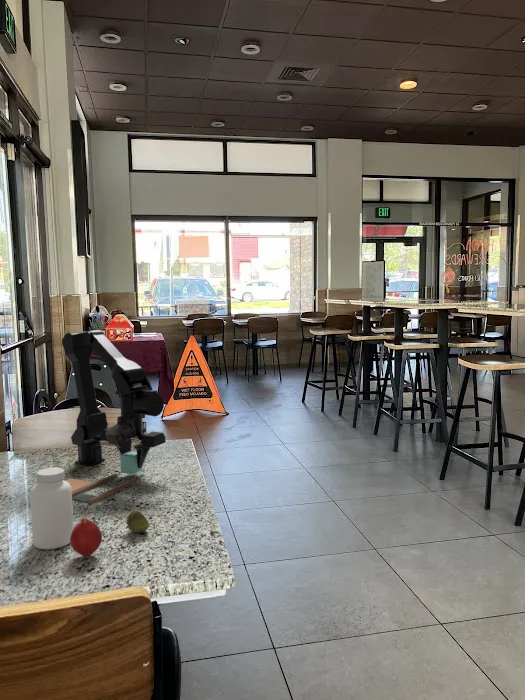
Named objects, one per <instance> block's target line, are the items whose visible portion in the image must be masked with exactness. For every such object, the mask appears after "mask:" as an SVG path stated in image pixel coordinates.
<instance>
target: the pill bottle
mask: <svg viewBox="0 0 525 700" xmlns="http://www.w3.org/2000/svg"><path fill="white" fill-rule="evenodd" d="M65 476H66V475H65V469H64V468H61V467H47V468H42V469H40V470H38V471H37V473H36V484H35V485H33V487H31V490H30V493H29V494H30V495H29V497H30V512H31V513H30V516H31V532H32V545H33V546H34V547H35V548H37V549H40V550H53V549H59V548H63V547H64V546H66V545H68V544H69V545H70V544H71V542H70V537H71V534H72V531H73V529H74V513H73V500H72V489H71V486H70V484H69V483H68V482H66V480H65V478H66V477H65Z"/></svg>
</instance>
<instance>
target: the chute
mask: <svg viewBox="0 0 525 700" xmlns="http://www.w3.org/2000/svg"><path fill="white" fill-rule="evenodd" d="M118 476H119V475H118V473H113V474H110V475H107V477H104V478H102V479H99V480H96V481H94V482H93V483H92V484H90V485H88V486H85V487H83V488H81V489H79V490H76V491H74V492H72V501H77V502H82V503H87V504H94V503H97V502H98V501H100V500H103V499H104V498H106V497H108V496H110V495H112V494H115V493H116V492H118V491H121V490H123V489H124V488H127V487H129V486H130V485H133V484H135V483H137V482H139V481H140V477H137V476H136V477H133V478H131V479H130V480H127V481H125V482H122V483H120V484H118V485H116V486H115V487H113V488H110V489H108V490H106V491H104V492H101V493H99V494H98V495H95V494H94V495H93V494H88V493H85V492H87V491H89V490H92V489H93V488H96V487H98V486H100V485H102V484H104V483H107V482H109V481H112V480H114V479H116V478H118Z"/></svg>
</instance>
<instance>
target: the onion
mask: <svg viewBox="0 0 525 700" xmlns="http://www.w3.org/2000/svg"><path fill="white" fill-rule="evenodd" d="M80 520H81V521H80V522H79V523H78V524H76V525H75V526H74V527H73V531H72V534H71V537H70V546H71V548H72V550H73V551H74V552H75V553H77V554H78V555H81V556H82V557H84V558H89V557H90V556H91V555H93V554H94V553H95V552H96V551H97V550H98V549H99V547H100V546H101V544H102V539H103V535H102V530H101V529H100V527H99V526H98V525H97V524H96V523H95V522H94V521H92V520H89V518H88V517H83V518H82V519H80Z"/></svg>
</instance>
